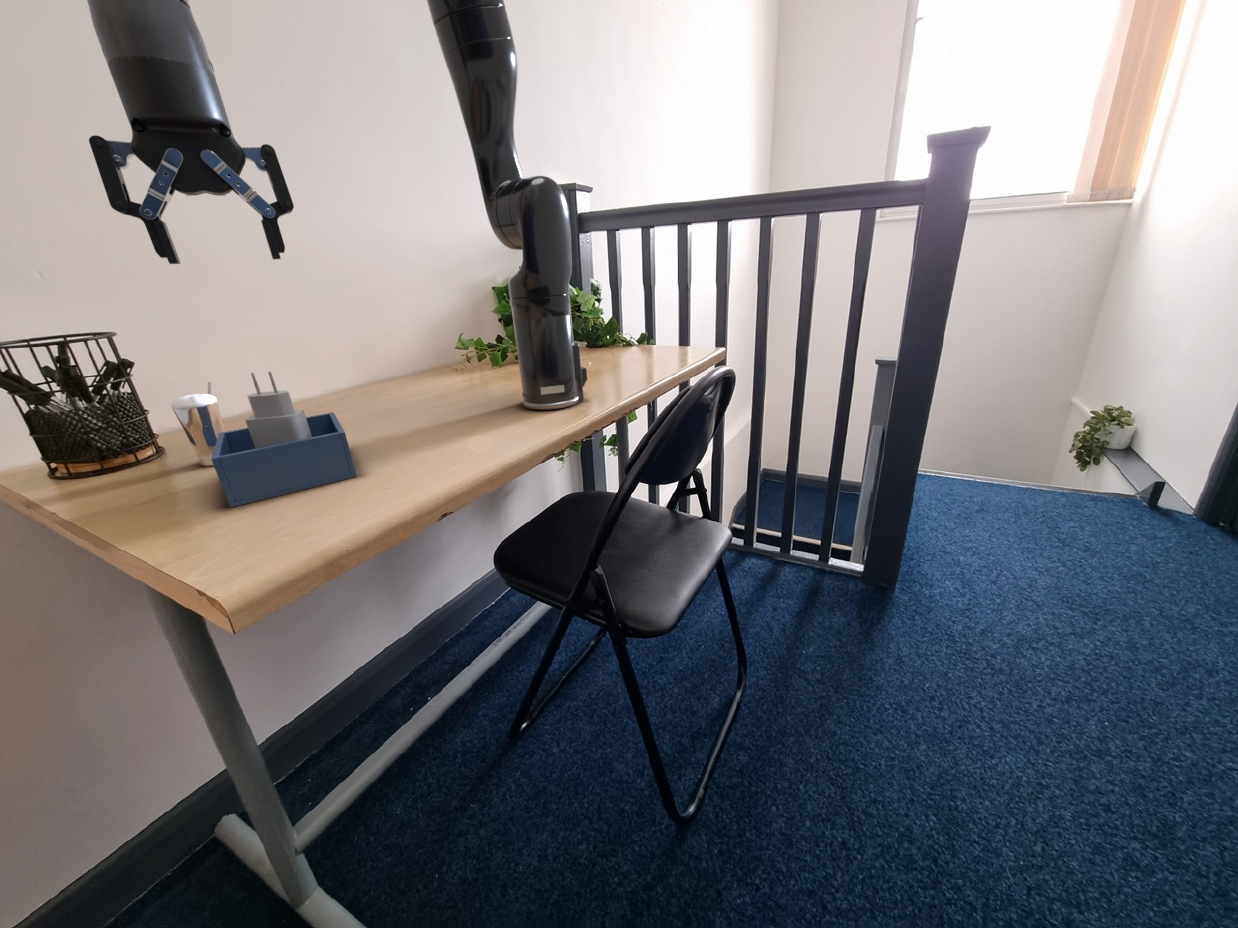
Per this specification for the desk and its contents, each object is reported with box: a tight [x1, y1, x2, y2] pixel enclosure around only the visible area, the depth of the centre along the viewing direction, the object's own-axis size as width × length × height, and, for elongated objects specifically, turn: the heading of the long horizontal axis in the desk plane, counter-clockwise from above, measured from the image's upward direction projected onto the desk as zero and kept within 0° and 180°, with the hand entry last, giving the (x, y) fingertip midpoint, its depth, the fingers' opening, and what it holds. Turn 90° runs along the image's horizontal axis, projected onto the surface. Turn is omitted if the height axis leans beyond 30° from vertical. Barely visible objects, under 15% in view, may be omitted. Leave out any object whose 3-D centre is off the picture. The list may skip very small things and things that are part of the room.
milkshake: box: [170, 381, 226, 467], centre depth 64 cm, size 4×5×10 cm
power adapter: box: [244, 371, 312, 449], centre depth 57 cm, size 3×5×12 cm, turn 95°
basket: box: [211, 411, 358, 508], centre depth 58 cm, size 12×11×6 cm
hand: (228, 261), depth 51 cm, fingers open, 8 cm apart
